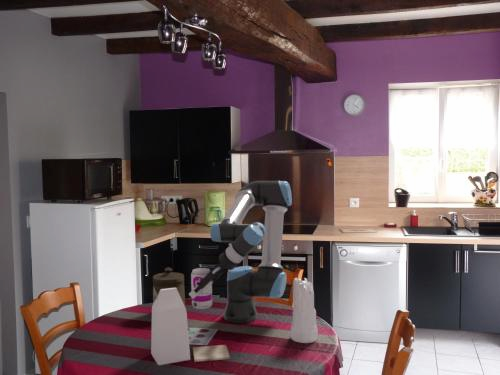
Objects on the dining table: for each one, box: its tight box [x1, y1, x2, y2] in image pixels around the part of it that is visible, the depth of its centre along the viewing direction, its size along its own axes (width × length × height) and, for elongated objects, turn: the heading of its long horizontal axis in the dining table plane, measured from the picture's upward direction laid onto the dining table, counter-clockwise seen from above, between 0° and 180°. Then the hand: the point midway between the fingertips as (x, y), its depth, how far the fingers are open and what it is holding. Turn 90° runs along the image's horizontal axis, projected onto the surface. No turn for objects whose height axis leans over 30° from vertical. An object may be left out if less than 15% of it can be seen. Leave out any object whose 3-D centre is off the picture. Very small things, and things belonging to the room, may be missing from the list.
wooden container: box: [152, 266, 186, 307], centre depth 246 cm, size 15×15×22 cm
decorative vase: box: [290, 277, 319, 344], centre depth 213 cm, size 11×11×25 cm
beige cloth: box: [192, 344, 231, 363], centre depth 199 cm, size 13×12×1 cm
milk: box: [150, 288, 191, 366], centre depth 196 cm, size 12×12×26 cm
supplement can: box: [190, 267, 213, 310], centre depth 211 cm, size 8×8×15 cm
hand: (196, 293), depth 212 cm, fingers closed on supplement can, 8 cm apart
